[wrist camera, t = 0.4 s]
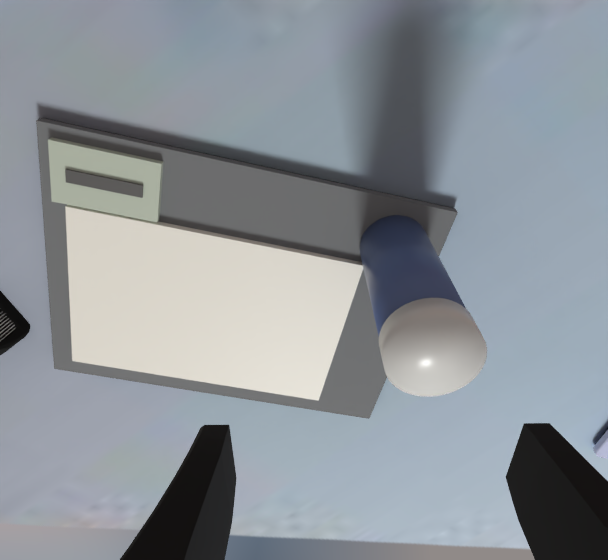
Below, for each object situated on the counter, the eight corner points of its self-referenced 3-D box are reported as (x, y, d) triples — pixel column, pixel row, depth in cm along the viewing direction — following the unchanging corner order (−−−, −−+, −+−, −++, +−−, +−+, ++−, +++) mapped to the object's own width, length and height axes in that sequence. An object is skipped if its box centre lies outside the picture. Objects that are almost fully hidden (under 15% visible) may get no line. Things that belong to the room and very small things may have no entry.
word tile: (163, 161, 17) (160, 164, 17) (159, 219, 18) (156, 223, 18) (51, 137, 17) (46, 140, 16) (55, 198, 18) (50, 202, 18)
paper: (363, 262, 19) (364, 266, 19) (318, 396, 24) (318, 400, 23) (68, 203, 18) (65, 206, 18) (74, 356, 22) (72, 361, 22)
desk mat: (454, 208, 19) (457, 212, 18) (368, 412, 25) (369, 418, 24) (41, 118, 17) (36, 120, 16) (58, 363, 23) (54, 368, 22)
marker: (439, 222, 18) (504, 329, 13) (414, 282, 20) (462, 403, 14) (370, 207, 18) (403, 309, 12) (350, 269, 20) (370, 388, 14)
